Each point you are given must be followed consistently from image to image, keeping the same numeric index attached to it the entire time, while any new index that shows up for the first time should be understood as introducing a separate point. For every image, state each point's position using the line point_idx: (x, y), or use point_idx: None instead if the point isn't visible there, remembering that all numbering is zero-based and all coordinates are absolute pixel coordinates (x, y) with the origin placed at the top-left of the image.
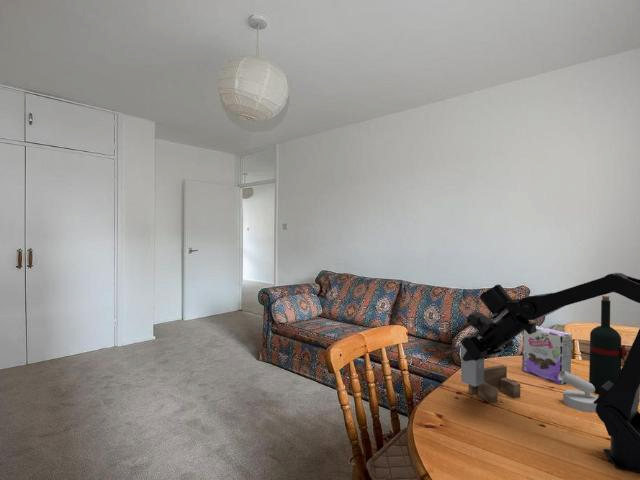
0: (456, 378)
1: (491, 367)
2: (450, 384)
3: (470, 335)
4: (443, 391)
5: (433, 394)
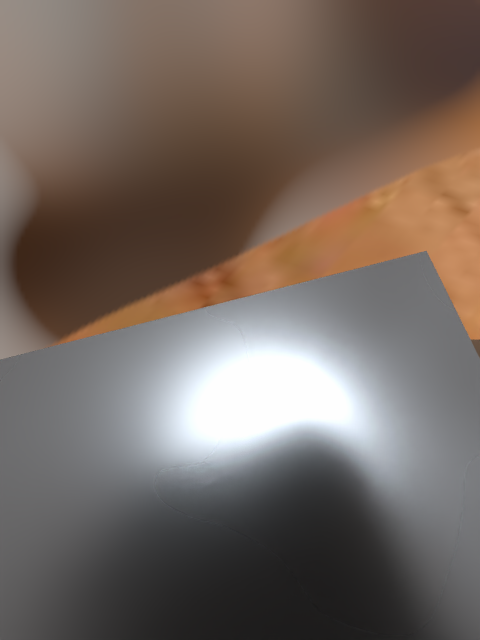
0: (325, 227)
1: (478, 349)
2: (256, 265)
3: (424, 283)
4: (173, 310)
5: (107, 319)
